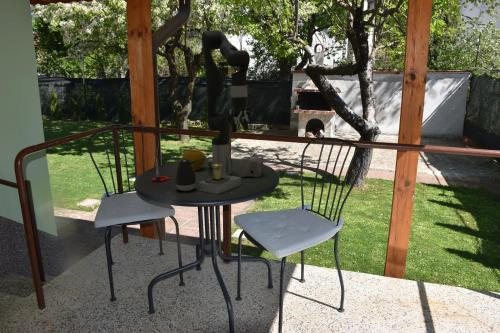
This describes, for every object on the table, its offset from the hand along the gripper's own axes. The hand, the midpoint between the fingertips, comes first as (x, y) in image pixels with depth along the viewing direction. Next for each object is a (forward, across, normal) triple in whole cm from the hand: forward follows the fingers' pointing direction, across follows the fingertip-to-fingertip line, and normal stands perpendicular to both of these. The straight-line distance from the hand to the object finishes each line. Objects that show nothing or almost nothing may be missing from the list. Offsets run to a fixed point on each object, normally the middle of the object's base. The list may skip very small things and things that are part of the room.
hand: (240, 131), depth 191 cm
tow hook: (+28, +9, -47) cm, 56 cm away
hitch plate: (+28, +4, -10) cm, 30 cm away
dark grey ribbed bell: (+28, +15, -22) cm, 39 cm away
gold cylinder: (+28, +6, -10) cm, 30 cm away
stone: (+28, -23, -11) cm, 38 cm away
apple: (+28, -17, -47) cm, 57 cm away
